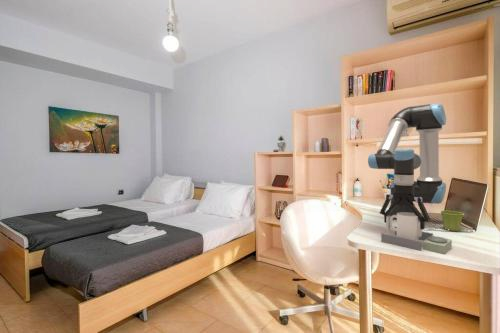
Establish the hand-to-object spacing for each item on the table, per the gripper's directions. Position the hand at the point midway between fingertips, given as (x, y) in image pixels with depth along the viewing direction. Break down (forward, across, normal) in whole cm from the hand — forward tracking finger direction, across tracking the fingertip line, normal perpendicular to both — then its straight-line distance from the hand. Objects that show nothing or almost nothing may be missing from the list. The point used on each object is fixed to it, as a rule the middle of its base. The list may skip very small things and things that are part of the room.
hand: (403, 233), depth 113 cm
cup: (+2, 0, 0) cm, 2 cm away
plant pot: (+4, +10, +35) cm, 36 cm away
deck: (+3, +6, 0) cm, 7 cm away
